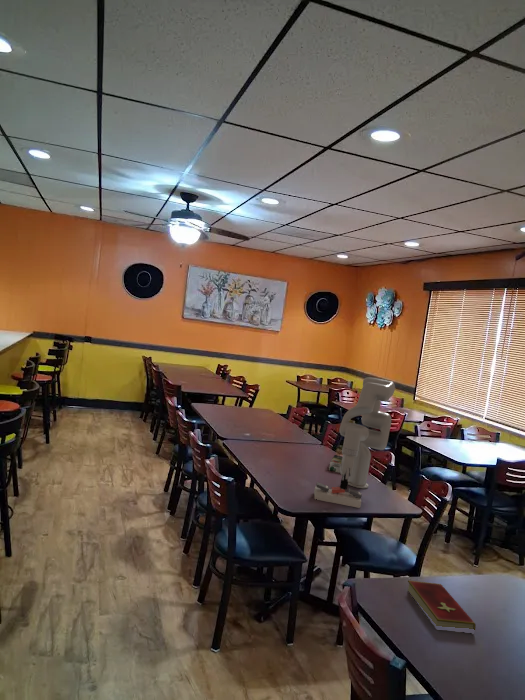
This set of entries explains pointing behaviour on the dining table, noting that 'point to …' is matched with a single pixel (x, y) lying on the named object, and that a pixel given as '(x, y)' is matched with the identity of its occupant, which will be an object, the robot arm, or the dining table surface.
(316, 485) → the charcoal rocker
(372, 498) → the dining table surface
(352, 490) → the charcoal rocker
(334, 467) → the juice carton
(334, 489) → the red rocker
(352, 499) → the rocker switch panel
